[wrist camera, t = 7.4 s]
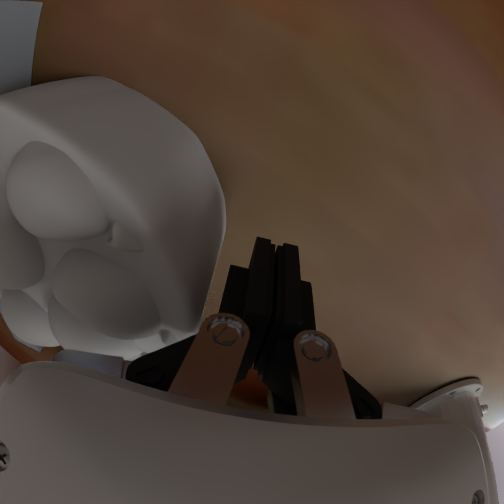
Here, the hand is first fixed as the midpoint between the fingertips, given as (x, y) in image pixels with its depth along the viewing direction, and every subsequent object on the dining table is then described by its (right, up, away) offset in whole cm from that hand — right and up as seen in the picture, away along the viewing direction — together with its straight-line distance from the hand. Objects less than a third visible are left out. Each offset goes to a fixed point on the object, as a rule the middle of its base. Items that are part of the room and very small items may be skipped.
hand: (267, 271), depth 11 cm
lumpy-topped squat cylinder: (-8, +4, +3) cm, 9 cm away
